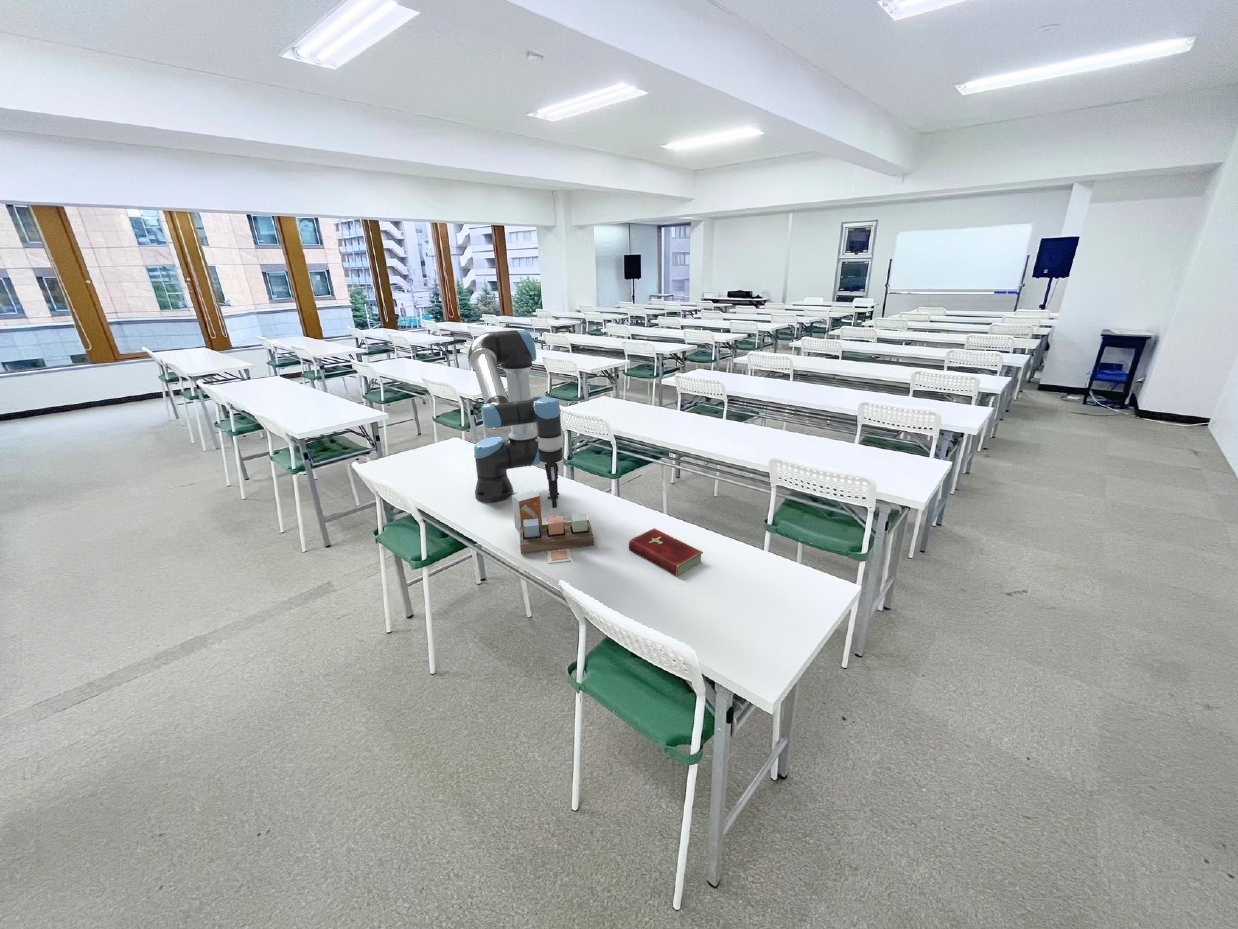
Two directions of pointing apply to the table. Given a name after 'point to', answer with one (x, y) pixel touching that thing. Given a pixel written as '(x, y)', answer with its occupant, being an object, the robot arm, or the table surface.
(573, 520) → the cap sage
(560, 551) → the tile
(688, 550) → the hardcover book
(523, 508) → the small box
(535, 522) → the light blue cube
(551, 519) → the cap terracotta
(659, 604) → the table surface
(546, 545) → the wooden tray
